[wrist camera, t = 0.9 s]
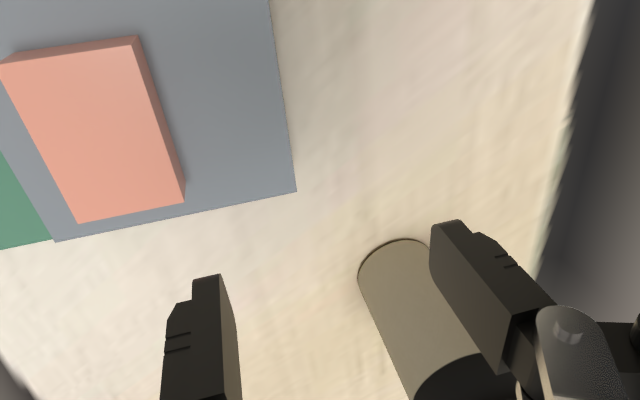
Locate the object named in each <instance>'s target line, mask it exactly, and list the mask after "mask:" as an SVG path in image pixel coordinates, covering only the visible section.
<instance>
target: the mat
mask: <svg viewBox="0 0 640 400" xmlns="http://www.w3.org/2000/svg"><path fill="white" fill-rule="evenodd" d="M51 239H53V238H52V237H51V235H50V233H49V231H48V230H47V228H46V226H45V225H44V223H43V221H42V220H41V218H40V216H39V215H38V213H37V211H36V210H35V208H34V206H33V205H32V203H31V201H30V200H29V198H28V196H27V194H26V193H25V191H24V189H23V188H22V186H21V184H20V183H19V181H18V179H17V178H16V176H15V174H14V173H13V171H12V169H11V168H10V166H9V164H8V163H7V161H6V159H5V157H4V156H3V154H2V152H1V151H0V250H3V249H8V248H12V247H17V246H22V245H27V244H31V243H36V242H41V241H46V240H51Z"/></svg>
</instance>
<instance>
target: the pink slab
mask: <svg viewBox="0 0 640 400" xmlns="http://www.w3.org/2000/svg"><path fill="white" fill-rule="evenodd" d="M0 80H1V82H2V84H3V85H4V87H5V89H6V91H7V93H8V95H9V97H10V98H11V100H12V102H13V104H14V106H15V108H16V110H17V111H18V113H19V115H20V117H21V119H22V121H23V123H24V125H25V126H26V128H27V130H28V132H29V134H30V136H31V138H32V139H33V141H34V143H35V145H36V147H37V149H38V151H39V153H40V154H41V156H42V158H43V160H44V162H45V164H46V166H47V167H48V169H49V171H50V173H51V175H52V177H53V179H54V180H55V182H56V184H57V186H58V188H59V190H60V192H61V194H62V195H63V197H64V199H65V201H66V203H67V205H68V207H69V208H70V210H71V212H72V214H73V216H74V218H75V220H76V221H77V223H78V224H81V223H86V222H91V221H96V220H101V219H106V218H110V217H115V216H120V215H125V214H130V213H135V212H140V211H144V210H149V209H154V208H159V207H164V206H169V205H174V204H178V203H183V202H185V188H186V180H185V177H184V174H183V171H182V168H181V165H180V162H179V159H178V156H177V153H176V150H175V147H174V144H173V141H172V137H171V134H170V131H169V128H168V125H167V122H166V119H165V116H164V113H163V110H162V107H161V104H160V101H159V98H158V95H157V92H156V88H155V85H154V82H153V79H152V76H151V73H150V70H149V67H148V64H147V61H146V58H145V55H144V52H143V49H142V46H141V43H140V39H139V36H138V35H131V36H124V37H117V38H110V39H104V40H97V41H90V42H83V43H76V44H69V45H62V46H55V47H49V48H42V49H35V50H28V51H21V52H14V53H12V54H11V55H9V56H7V57H6V58H4V59H2V60H1V61H0Z"/></svg>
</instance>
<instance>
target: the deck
mask: <svg viewBox="0 0 640 400" xmlns="http://www.w3.org/2000/svg"><path fill="white" fill-rule="evenodd" d="M131 35H138V36H139V39H140V43H141V46H142V49H143V52H144V55H145V58H146V61H147V64H148V67H149V70H150V73H151V76H152V79H153V82H154V85H155V88H156V92H157V95H158V98H159V101H160V104H161V107H162V110H163V113H164V116H165V119H166V122H167V125H168V128H169V131H170V134H171V137H172V141H173V144H174V147H175V150H176V153H177V156H178V159H179V162H180V165H181V168H182V171H183V174H184V177H185V180H186V188H185V202H183V203H178V204H174V205H169V206H164V207H159V208H154V209H149V210H144V211H140V212H135V213H130V214H125V215H120V216H115V217H110V218H106V219H101V220H96V221H91V222H86V223H81V224H78V223H77V221H76V220H75V218H74V216H73V214H72V212H71V210H70V208H69V207H68V205H67V203H66V201H65V199H64V197H63V195H62V194H61V192H60V190H59V188H58V186H57V184H56V182H55V180H54V179H53V177H52V175H51V173H50V171H49V169H48V167H47V166H46V164H45V162H44V160H43V158H42V156H41V154H40V153H39V151H38V149H37V147H36V145H35V143H34V141H33V139H32V138H31V136H30V134H29V132H28V130H27V128H26V126H25V125H24V123H23V121H22V119H21V117H20V115H19V113H18V111H17V110H16V108H15V106H14V104H13V102H12V100H11V98H10V97H9V95H8V93H7V91H6V89H5V87H4V85H3V84H2V82H1V80H0V151H1V152H2V154H3V156H4V157H5V159H6V161H7V163H8V164H9V166H10V168H11V169H12V171H13V173H14V174H15V176H16V178H17V179H18V181H19V183H20V184H21V186H22V188H23V189H24V191H25V193H26V194H27V196H28V198H29V200H30V201H31V203H32V205H33V206H34V208H35V210H36V211H37V213H38V215H39V216H40V218H41V220H42V221H43V223H44V225H45V226H46V228H47V230H48V231H49V233H50V235H51V237H52V238H53V240H54V242H55V243H56V242H61V241H66V240H70V239H75V238H80V237H85V236H89V235H94V234H99V233H104V232H108V231H113V230H118V229H123V228H127V227H132V226H137V225H142V224H146V223H151V222H156V221H161V220H165V219H170V218H175V217H180V216H184V215H189V214H194V213H199V212H203V211H208V210H213V209H218V208H223V207H227V206H232V205H237V204H242V203H246V202H251V201H256V200H261V199H265V198H270V197H275V196H280V195H284V194H289V193H294V192H297V188H296V181H295V174H294V168H293V161H292V155H291V148H290V141H289V135H288V128H287V121H286V115H285V108H284V101H283V95H282V88H281V82H280V75H279V68H278V62H277V55H276V48H275V42H274V35H273V29H272V22H271V15H270V9H269V2H268V0H0V61H1V60H2V59H4V58H6V57H7V56H9V55H11V54H12V53H14V52H21V51H28V50H35V49H42V48H49V47H55V46H62V45H69V44H76V43H83V42H90V41H97V40H104V39H110V38H117V37H124V36H131Z"/></svg>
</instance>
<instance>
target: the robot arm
mask: <svg viewBox="0 0 640 400" xmlns="http://www.w3.org/2000/svg"><path fill="white" fill-rule="evenodd" d="M429 270H430V274H431V277H432V279H433V281H434V283H435V285H436V286H437V288H438V289H439V291H440V292H441V294H442V295H443V297H444V298H445V300H446V301H447V302H448V304H449V305H450V307H451V308H452V310H453V311H454V313H455V314H456V316H457V317H458V319H459V320H460V322H461V323H462V325H463V326H464V328H465V329H466V331H467V332H468V334H469V335H470V337H471V338H472V340H473V341H474V343H475V344H476V346H477V347H478V349H479V350H480V352H481V353H482V355H483V356H484V358H485V359H486V361H487V362H488V364H489V365H490V367H491V368H492V370H493V371H494V373H495V374H496V375H500V374H503V373H507V372H510V371H511V372H512V373H513V375H514V376H515V378H516V379H517V382H516V387H515V388H516V396H517V400H640V314H639V315H638V317H637V319H636V321H635V323H614V322H595V321H594V320H593V319H592V318H591V317H590V316H588V315H586V314H585V313H583V312H581V311H579V310H577V309H574V308H571V307H568V306H560V305H557V304H556V303H555V302H554V301H553V300H552V299H551V298H550V297H549V296H548V294H546V293H545V291H544V290H543V289H542V288H541V287H540V286H539V285H538V284H537V283H536V282H535V281H534V280H533V279H532V278H531V277H530V276H529V275H528V274H527V273H526V272H525V271H524V270H523V268H522V267H521V266H518V264H517V262H516V261H515V260H514V259H513V258H512V257H511V256H508V253H507V252H506V251H505V250H504V249H503V248H502V247H501V246H500V245H499V244H498V243H497V241H495V240H493V239H492V238H490V237H488V236H486V235H484V234H482V233H481V232H476V233H472V232H471V231H470V230H469V229H468V228H467V226H466V225H465V224H464V223H463V222H462V221H461V220H459V219H456V220H451V221H447V222H443V223H438V224H434V225H433V226H432V228H431V238H430V251H429ZM165 338H166V341H165V348H164V354H165V356H164V359H163V369H162V380H161V391H160V400H242V388H241V377H240V365H239V353H238V341H237V331H236V324H235V318H234V314H233V310H232V307H231V304H230V301H229V297H228V294H227V291H226V288H225V285H224V282H223V278H222V276H221V274H215V275H211V276H207V277H202V278H198V279H194V280H193V282H192V300H188V301H184V302H180V303H176V305H175V307H174V309H173V311H172V312H171V314H170V316H169V318H168V320H167V327H166V337H165Z"/></svg>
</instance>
